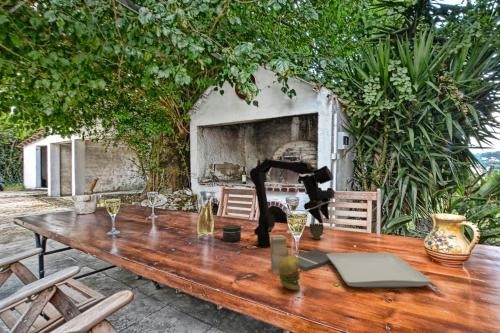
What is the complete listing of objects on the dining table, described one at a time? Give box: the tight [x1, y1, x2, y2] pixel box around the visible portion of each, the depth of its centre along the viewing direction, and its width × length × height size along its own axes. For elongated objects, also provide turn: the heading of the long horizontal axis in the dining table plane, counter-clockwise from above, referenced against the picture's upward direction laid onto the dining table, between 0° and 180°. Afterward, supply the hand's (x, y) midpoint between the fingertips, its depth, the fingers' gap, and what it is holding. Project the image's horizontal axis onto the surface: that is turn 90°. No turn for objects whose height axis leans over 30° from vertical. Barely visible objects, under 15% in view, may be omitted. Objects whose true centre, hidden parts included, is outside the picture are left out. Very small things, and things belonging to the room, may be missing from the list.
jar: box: [222, 224, 242, 244], centre depth 149 cm, size 10×10×8 cm
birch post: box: [270, 234, 288, 275], centre depth 105 cm, size 5×5×13 cm
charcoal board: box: [292, 248, 333, 272], centre depth 115 cm, size 13×20×2 cm, turn 124°
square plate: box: [326, 252, 433, 288], centre depth 100 cm, size 27×27×4 cm
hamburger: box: [278, 254, 301, 291], centre depth 90 cm, size 8×7×12 cm
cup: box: [309, 222, 324, 241], centre depth 149 cm, size 8×7×8 cm
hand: (324, 221), depth 121 cm, fingers open, 9 cm apart
